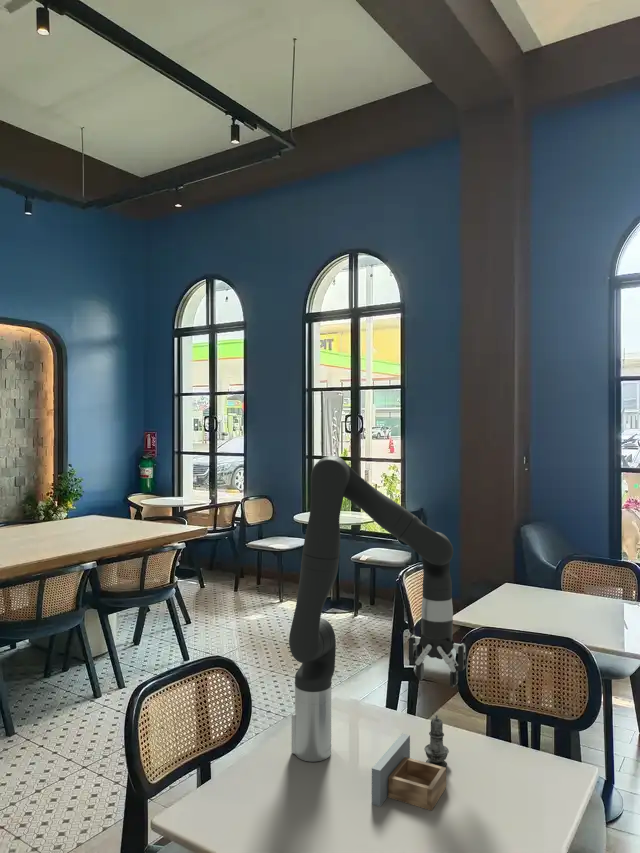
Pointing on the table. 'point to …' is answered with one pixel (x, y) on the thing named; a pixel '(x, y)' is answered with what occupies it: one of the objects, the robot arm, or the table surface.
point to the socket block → (417, 783)
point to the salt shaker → (436, 744)
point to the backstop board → (388, 768)
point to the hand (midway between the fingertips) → (436, 682)
